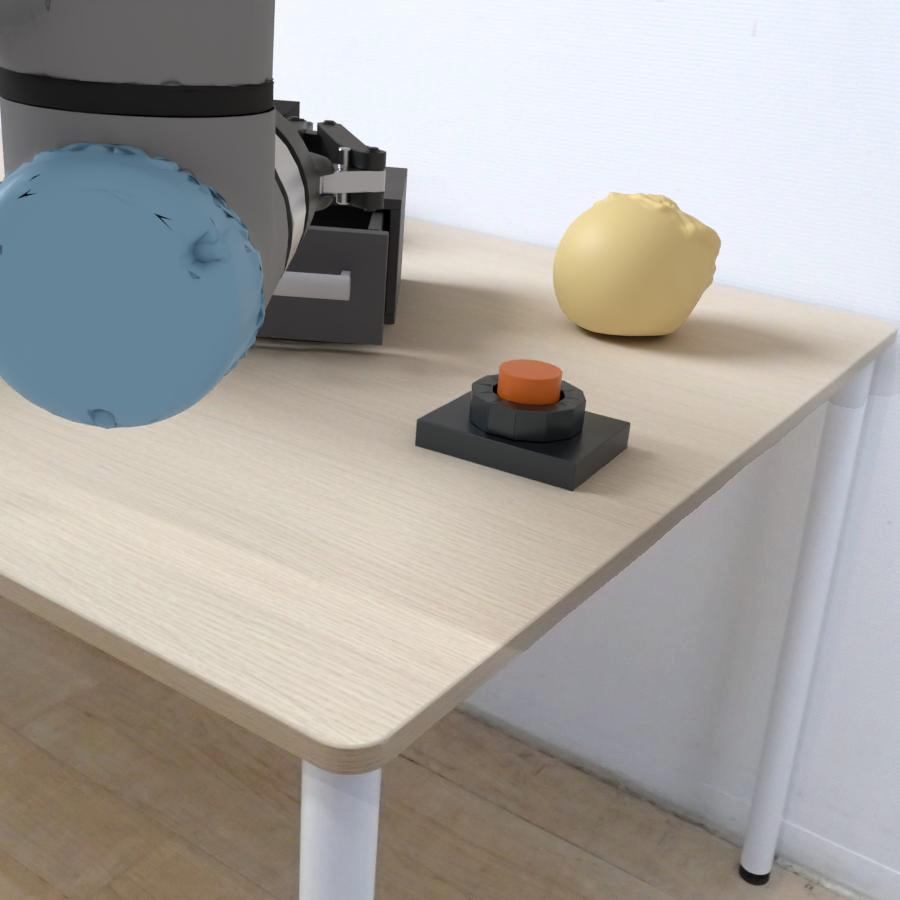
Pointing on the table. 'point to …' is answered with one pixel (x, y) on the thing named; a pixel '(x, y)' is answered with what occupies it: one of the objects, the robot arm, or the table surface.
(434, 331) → the table surface
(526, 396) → the button
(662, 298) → the sculpture
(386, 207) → the small drawer cabinet
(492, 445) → the control block
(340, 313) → the grey pull-out drawer
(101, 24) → the robot arm
